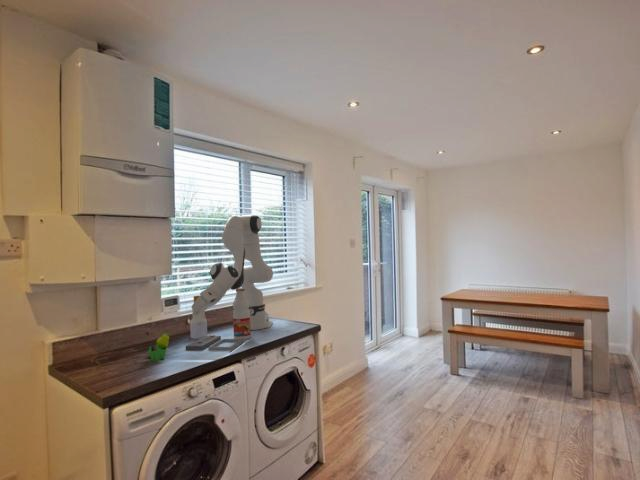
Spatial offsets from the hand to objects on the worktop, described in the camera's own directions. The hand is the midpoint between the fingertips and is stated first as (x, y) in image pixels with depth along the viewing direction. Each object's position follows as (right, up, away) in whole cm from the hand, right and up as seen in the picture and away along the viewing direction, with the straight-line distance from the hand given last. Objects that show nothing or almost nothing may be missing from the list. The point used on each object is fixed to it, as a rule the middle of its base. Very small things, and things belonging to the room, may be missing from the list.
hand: (197, 313), depth 188 cm
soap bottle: (-6, -19, +22) cm, 29 cm away
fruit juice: (+20, -18, +15) cm, 31 cm away
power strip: (+2, -18, +4) cm, 19 cm away
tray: (+15, -17, -1) cm, 23 cm away
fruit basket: (-13, -19, -14) cm, 27 cm away
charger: (+1, -6, 0) cm, 6 cm away
